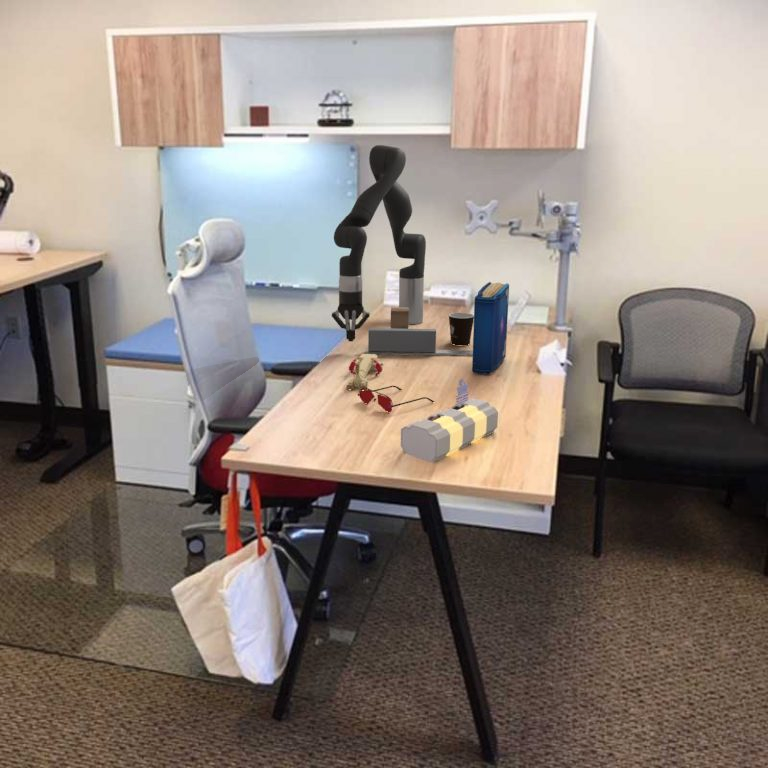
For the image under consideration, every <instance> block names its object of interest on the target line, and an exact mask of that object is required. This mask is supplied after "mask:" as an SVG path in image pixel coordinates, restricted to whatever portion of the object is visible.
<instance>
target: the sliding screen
mask: <svg viewBox="0 0 768 768" xmlns="http://www.w3.org/2000/svg"><path fill="white" fill-rule="evenodd" d="M367 332H368V335H367V336H368V339H367V340H368V348H367V349H368V351H394V352H436V350H437V347H436V346H437V329H436V328H408V329H395V328H391V327H390V328H385V327H381V328H380V327H376V328H375V327H368V331H367Z"/></svg>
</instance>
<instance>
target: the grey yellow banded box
mask: <svg viewBox="0 0 768 768" xmlns="http://www.w3.org/2000/svg"><path fill="white" fill-rule="evenodd" d="M468 388H469V384H468V383H466V381H464V379H459V380H458V387H456V390H457V396H456V397H455V400H456V402H455V405H453V406H452V407H450V408H448V409H443V410H441V411H438V412H436V413H433V414H430V415H429V416H427V419H426V418H424V419H422V420H417V421H414V422H412V423H410V424H408V425H405V426H404V427H402V428H401V429H400V447H401V449H402V451H403V454H406V455H408V456H412V457H415V458H418V459H420V460H424V461H427V462H430V463H435V462H437V461H439V460H441V459H443V458H445V457H447V456H449V455H451V454H453V453H455V452H457V451H459V450H461V449H463V448H465V447H467V446H469V445H471V444H473V443H475V442H477V441H479V440H481V439H483V438H485V437H487V436H489V435H490V433H491V434H492V432H493V433H494V432H495V430H497V429H498V419H499V410H497V408H496V407H495V406H493V405H490V403H489V401H487V400H483V399H479V398H475V397H473V398H471V399H469V391H468ZM488 434H489V435H488ZM486 435H487V436H486ZM484 436H485V437H484ZM482 437H483V438H482ZM480 438H481V439H480ZM478 439H479V440H478ZM472 442H473V443H472ZM470 443H471V444H470ZM468 444H469V445H468Z"/></svg>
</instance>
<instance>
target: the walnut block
mask: <svg viewBox="0 0 768 768" xmlns="http://www.w3.org/2000/svg"><path fill="white" fill-rule="evenodd" d="M408 319H409V307H399V306H391V307H390V328H395V329H409V324H408Z"/></svg>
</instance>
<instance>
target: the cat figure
mask: <svg viewBox="0 0 768 768" xmlns="http://www.w3.org/2000/svg"><path fill="white" fill-rule="evenodd" d="M357 360H359V361H357ZM383 367H384V362H382V361H379V362H378V355H376V354H365V353H362V354H361V355H360V356H359V357H357V358H355V359H353V361H351V362H350V365H349V366H348V371H349V372H350V374H353V376H354V377H351V378H350V379H349V381H348V384H347V385H346V389H347V390H349V389H353V390H355V388H358V389H359V390H360V391H361V389H362V388H363V389H362V390H368V389H365V388H368V383H369V381H368V379H367V375H368V373H369V371H375V370H376V372H375V377H377V376H378V375H380V374H381V373H382V371H383ZM354 374H355V375H354Z"/></svg>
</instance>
